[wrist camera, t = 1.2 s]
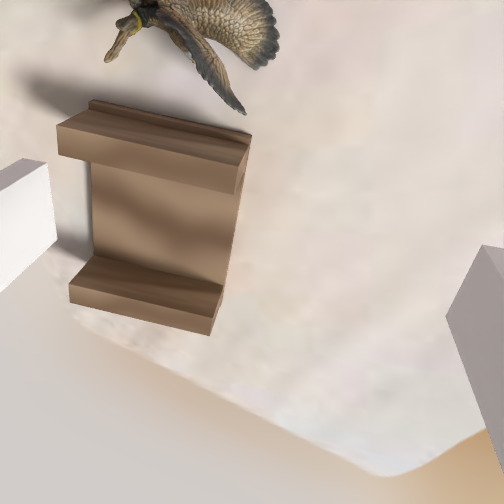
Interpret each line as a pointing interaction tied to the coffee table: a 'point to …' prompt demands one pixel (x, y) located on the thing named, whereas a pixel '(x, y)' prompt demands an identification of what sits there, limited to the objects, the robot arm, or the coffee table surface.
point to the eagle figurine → (208, 34)
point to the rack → (157, 213)
